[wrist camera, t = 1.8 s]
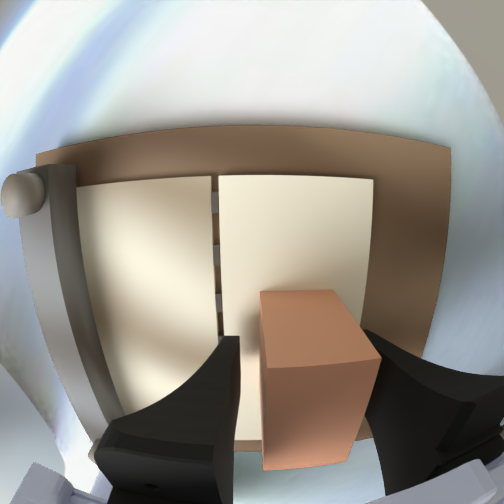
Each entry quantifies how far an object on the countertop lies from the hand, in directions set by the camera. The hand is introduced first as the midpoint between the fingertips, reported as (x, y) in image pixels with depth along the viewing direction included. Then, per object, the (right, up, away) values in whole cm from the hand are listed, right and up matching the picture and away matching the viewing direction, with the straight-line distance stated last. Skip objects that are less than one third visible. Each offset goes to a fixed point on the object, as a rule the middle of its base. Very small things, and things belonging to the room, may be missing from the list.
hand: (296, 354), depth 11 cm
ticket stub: (0, 0, +1) cm, 1 cm away
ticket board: (-2, +1, +3) cm, 4 cm away
